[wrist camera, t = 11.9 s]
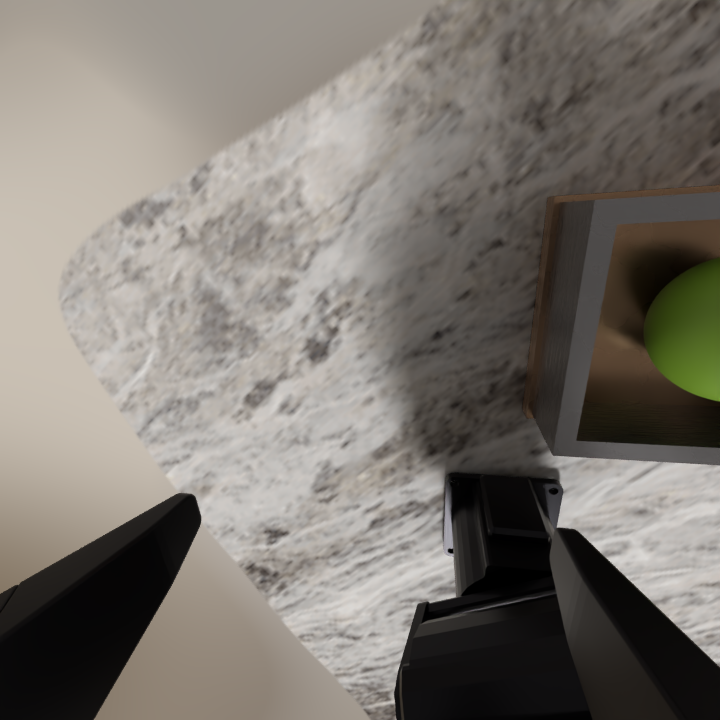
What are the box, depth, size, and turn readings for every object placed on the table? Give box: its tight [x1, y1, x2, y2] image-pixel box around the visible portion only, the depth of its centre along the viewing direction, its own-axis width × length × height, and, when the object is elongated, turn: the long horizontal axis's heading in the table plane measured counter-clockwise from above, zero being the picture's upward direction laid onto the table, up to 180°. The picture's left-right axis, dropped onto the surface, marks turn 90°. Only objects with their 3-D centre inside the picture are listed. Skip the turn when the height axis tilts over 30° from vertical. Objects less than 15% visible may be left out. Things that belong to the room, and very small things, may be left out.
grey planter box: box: [522, 185, 720, 465], centre depth 15 cm, size 11×11×4 cm
